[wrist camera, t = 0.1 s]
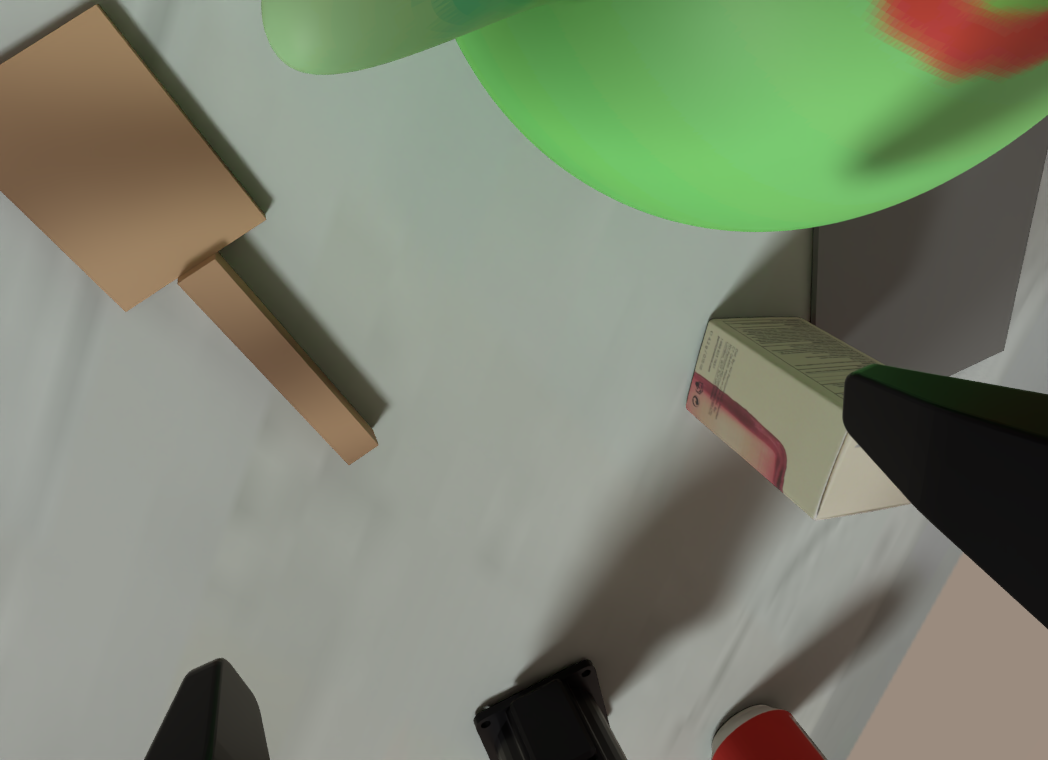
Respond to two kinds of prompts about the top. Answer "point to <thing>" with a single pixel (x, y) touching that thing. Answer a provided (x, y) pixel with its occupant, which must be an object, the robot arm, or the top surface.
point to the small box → (789, 412)
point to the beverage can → (763, 737)
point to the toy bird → (722, 91)
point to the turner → (145, 201)
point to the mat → (933, 266)
